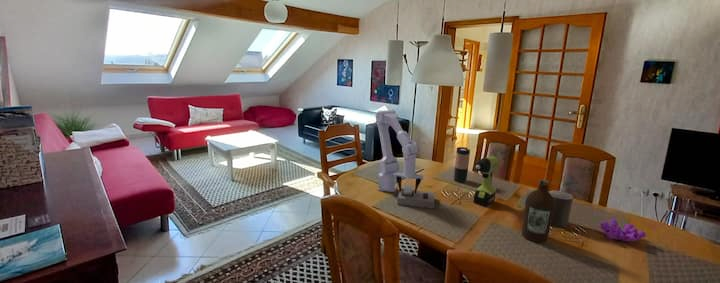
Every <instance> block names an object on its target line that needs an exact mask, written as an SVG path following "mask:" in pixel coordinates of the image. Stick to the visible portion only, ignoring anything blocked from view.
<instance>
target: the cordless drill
mask: <svg viewBox="0 0 720 283" xmlns="http://www.w3.org/2000/svg"><path fill="white" fill-rule="evenodd" d="M500 165H501V164H500V161H499V158H498V157H496V156H487V157H482V158H480V159H479V160H478V161H477V162H475V164H474V170H475V171H477V172H480V173H481V175H482V178H483V179H482V184H481V185H480V186H479V187H477V188H476V190H475V192H474V195H473V202H472V203H473V204H475V205H478V206H481V207H483V208H488V207H489V206H491V205H492V204H493V203H494V202H495V198H496V191H497V188H495V186H493V185H492V181H493V172H494V171H496V170H497V169H499V167H500Z"/></svg>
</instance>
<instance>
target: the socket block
mask: <svg viewBox="0 0 720 283" xmlns="http://www.w3.org/2000/svg"><path fill="white" fill-rule="evenodd" d="M403 195H404V188H401V191H399V192H398V195H397V201H396V202H397V203H396V204H397V205H401V206H408V205H409V207H410V206H411V207H416V206H418V207H417V208H424V207H428V208H427V209H432V208H434V209H435V197H436V196H435V195H436V192H433V191H426V190H418V189H417V191H416V193H415V189H412V197H409V196H403Z"/></svg>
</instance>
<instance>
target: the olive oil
mask: <svg viewBox="0 0 720 283" xmlns="http://www.w3.org/2000/svg"><path fill="white" fill-rule="evenodd" d="M549 183H550V182H549V180H547V179H539V182H538V185H537V186H538V187H537V189H535V190H533V191H532V192H530V193H529V194H527V196H526V198H525V204H524V214H523V222H522V227H521V228H522V230H521V236H522V237H523V238H524V237H525V239H526V240H528V241H530V242H533V243H537V242H538V243H537V244H541V243H545V242H547V241H548V237H549V234H550V229H551V222H552V218H553V214H554V211H555V206H556V205H555V200H554V198H553V197H552V196H551V194H550V193H549Z"/></svg>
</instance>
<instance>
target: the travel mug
mask: <svg viewBox="0 0 720 283" xmlns="http://www.w3.org/2000/svg"><path fill="white" fill-rule="evenodd" d="M470 154H471V149H468V147H463V146H462V147H460V146H459V147H456V153H455V160H454V175H453V180H454V182H456V183H459V184H464V183H465V184H466V182H467V178H468V171H469V166H470V165H469V164H470V163H469V162H470V156H471V155H470Z"/></svg>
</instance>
